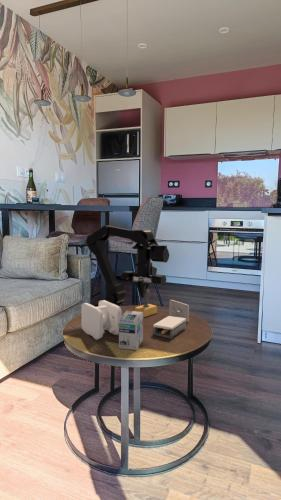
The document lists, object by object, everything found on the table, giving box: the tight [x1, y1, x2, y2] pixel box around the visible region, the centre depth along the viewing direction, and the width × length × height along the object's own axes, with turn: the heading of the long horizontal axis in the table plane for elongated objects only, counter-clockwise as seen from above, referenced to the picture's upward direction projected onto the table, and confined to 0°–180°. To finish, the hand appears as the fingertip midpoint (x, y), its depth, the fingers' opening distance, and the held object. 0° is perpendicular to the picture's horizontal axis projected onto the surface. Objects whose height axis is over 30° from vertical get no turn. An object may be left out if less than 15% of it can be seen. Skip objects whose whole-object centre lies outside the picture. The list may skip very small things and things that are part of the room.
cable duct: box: [152, 321, 187, 340], centre depth 133 cm, size 8×14×3 cm, turn 150°
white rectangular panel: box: [152, 315, 186, 330], centre depth 133 cm, size 8×14×1 cm, turn 150°
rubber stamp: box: [134, 288, 158, 318], centre depth 155 cm, size 10×6×12 cm, turn 139°
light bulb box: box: [118, 310, 144, 351], centre depth 118 cm, size 11×7×11 cm, turn 168°
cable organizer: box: [81, 299, 123, 341], centre depth 128 cm, size 15×11×12 cm
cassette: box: [168, 299, 190, 323], centre depth 150 cm, size 12×2×8 cm, turn 37°
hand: (142, 297), depth 138 cm, fingers closed
